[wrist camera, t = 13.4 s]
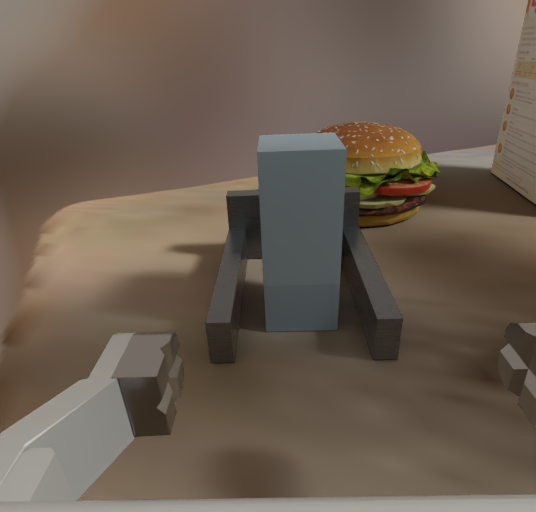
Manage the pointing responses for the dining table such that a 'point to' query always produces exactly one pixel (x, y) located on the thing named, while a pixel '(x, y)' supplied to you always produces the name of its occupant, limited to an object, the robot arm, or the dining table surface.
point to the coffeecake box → (520, 117)
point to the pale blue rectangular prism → (301, 229)
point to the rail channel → (250, 247)
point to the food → (385, 171)
